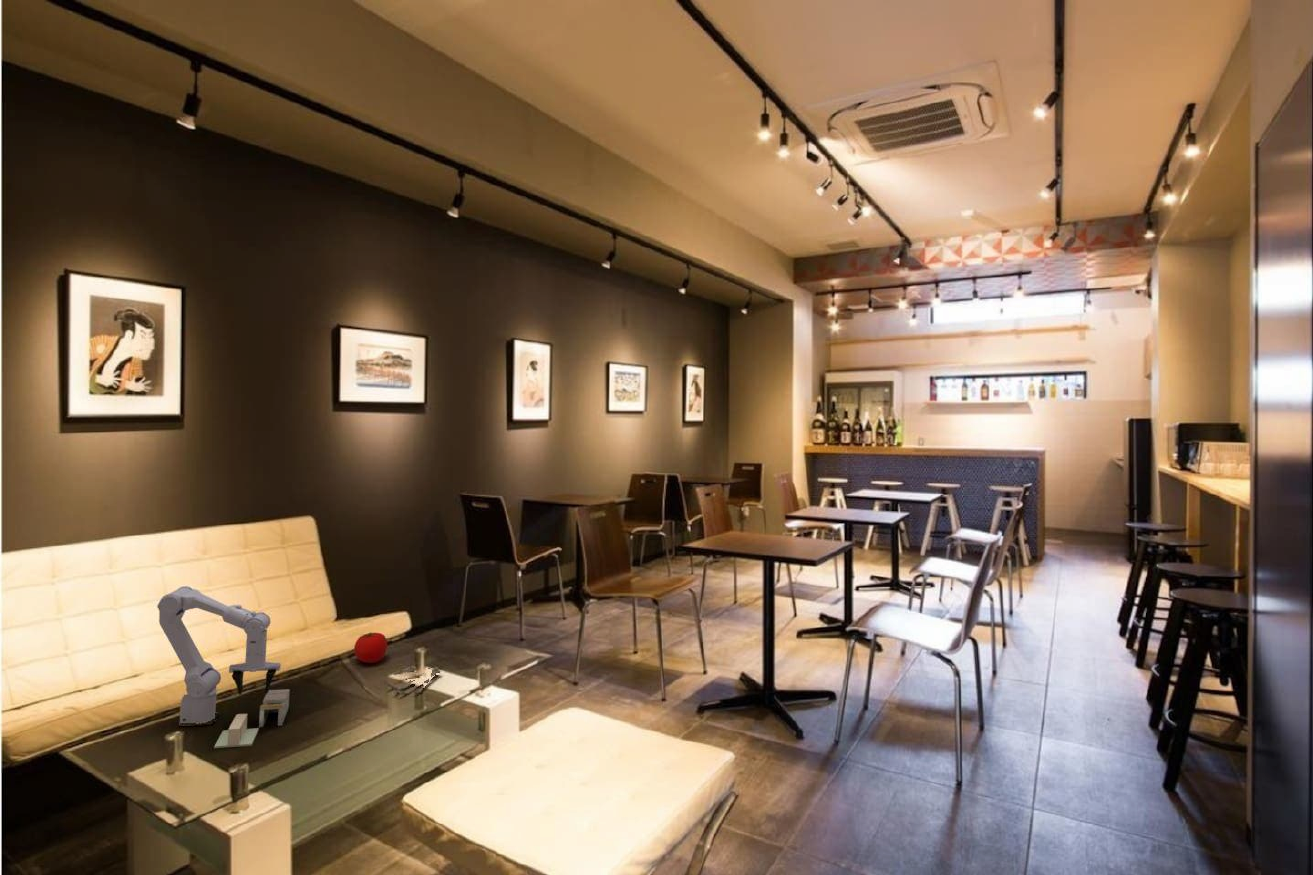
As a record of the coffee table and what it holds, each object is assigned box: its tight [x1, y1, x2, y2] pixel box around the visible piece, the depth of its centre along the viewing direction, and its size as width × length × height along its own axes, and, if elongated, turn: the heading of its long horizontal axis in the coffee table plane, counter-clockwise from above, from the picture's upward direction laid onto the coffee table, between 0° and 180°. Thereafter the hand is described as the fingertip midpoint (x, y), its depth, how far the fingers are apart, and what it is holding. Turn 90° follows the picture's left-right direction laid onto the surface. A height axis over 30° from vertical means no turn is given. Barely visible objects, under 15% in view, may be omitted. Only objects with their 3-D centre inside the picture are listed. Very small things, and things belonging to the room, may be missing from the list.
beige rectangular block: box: [227, 713, 248, 745], centre depth 218 cm, size 3×10×5 cm, turn 18°
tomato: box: [353, 631, 388, 664], centre depth 285 cm, size 12×14×11 cm
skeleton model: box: [383, 666, 441, 695], centre depth 266 cm, size 24×13×5 cm, turn 172°
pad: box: [213, 727, 260, 749], centre depth 218 cm, size 10×10×1 cm
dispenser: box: [258, 688, 291, 728], centre depth 233 cm, size 7×12×7 cm, turn 19°
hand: (253, 692), depth 229 cm, fingers open, 7 cm apart
